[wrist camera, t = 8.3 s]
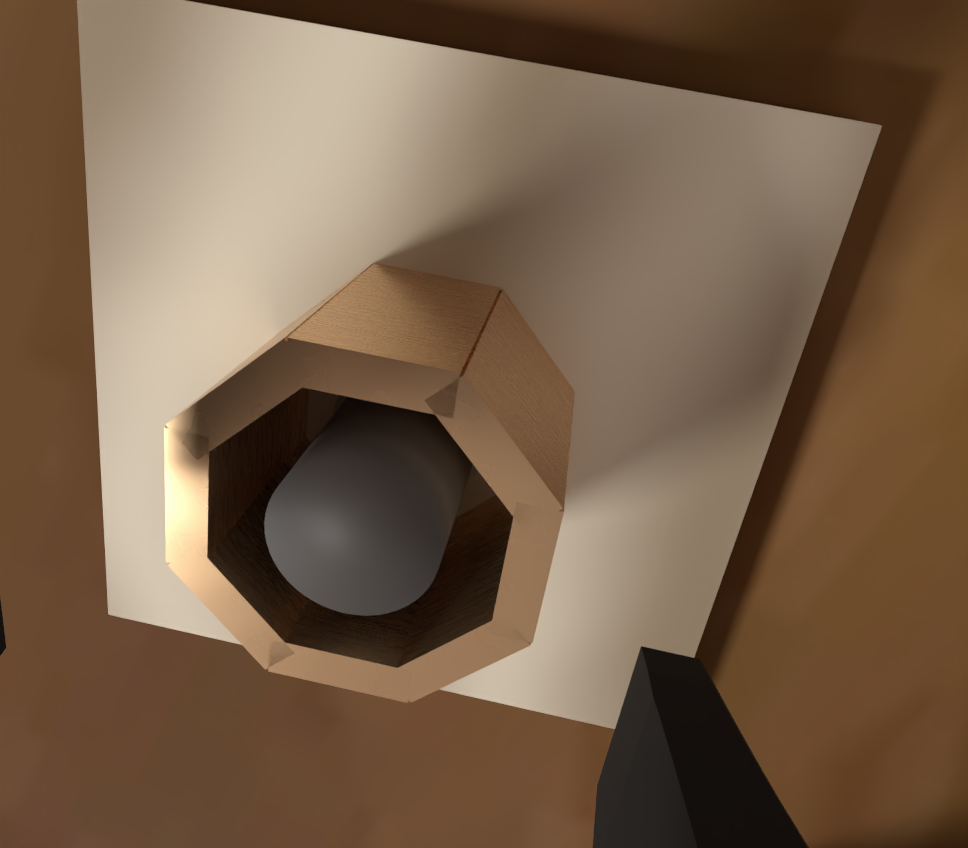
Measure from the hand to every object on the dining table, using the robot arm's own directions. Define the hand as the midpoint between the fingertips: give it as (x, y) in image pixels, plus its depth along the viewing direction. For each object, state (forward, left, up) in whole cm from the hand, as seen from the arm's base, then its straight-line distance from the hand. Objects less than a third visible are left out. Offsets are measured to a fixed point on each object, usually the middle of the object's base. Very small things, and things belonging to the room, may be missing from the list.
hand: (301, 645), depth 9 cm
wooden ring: (0, 0, -6) cm, 6 cm away
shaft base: (0, 0, -7) cm, 7 cm away
